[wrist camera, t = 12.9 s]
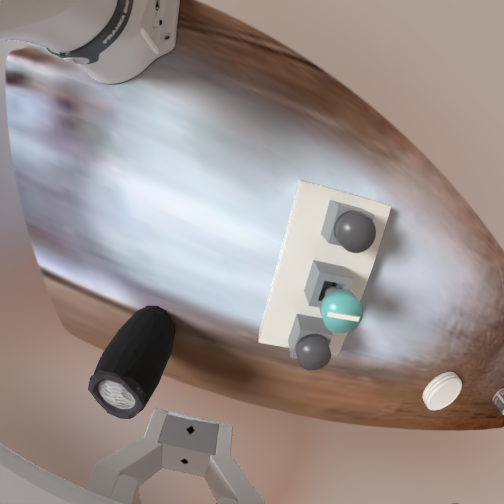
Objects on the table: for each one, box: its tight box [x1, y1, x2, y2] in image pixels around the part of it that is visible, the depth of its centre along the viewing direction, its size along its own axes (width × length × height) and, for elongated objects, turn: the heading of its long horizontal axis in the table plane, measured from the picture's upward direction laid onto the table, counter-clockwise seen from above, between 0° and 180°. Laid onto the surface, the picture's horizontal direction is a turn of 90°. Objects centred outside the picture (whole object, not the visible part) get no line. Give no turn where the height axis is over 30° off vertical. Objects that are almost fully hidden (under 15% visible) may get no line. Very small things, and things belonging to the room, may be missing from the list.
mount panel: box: [259, 180, 391, 359], centre depth 44 cm, size 26×14×8 cm, turn 167°
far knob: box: [296, 334, 331, 370], centre depth 43 cm, size 5×5×6 cm
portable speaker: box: [88, 306, 175, 419], centre depth 42 cm, size 9×9×20 cm
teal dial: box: [320, 286, 363, 333], centre depth 37 cm, size 5×5×6 cm
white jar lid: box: [423, 372, 462, 410], centre depth 55 cm, size 10×10×4 cm
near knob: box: [334, 210, 376, 253], centre depth 38 cm, size 5×5×6 cm
